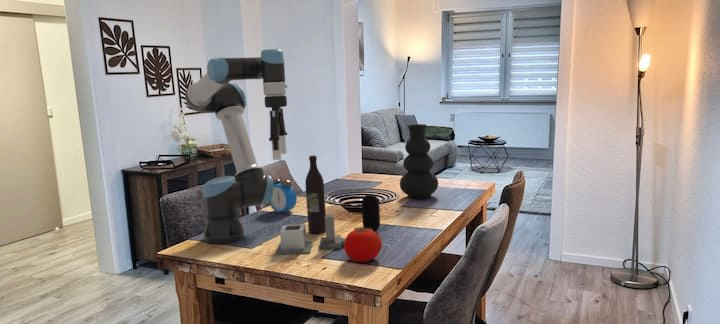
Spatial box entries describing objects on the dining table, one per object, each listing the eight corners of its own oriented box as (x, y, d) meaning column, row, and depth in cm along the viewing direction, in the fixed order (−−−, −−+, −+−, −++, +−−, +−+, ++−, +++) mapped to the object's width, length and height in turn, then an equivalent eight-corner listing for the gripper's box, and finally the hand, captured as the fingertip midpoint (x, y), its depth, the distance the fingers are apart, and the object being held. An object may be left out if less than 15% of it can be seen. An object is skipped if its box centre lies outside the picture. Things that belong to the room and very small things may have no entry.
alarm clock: (268, 211, 234) (265, 179, 231) (278, 208, 239) (275, 177, 236) (288, 214, 226) (286, 181, 224) (298, 211, 231) (296, 179, 228)
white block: (281, 251, 176) (279, 231, 175) (284, 243, 184) (283, 225, 183) (304, 250, 176) (303, 230, 175) (306, 242, 184) (305, 224, 183)
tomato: (350, 253, 173) (349, 223, 171) (385, 254, 169) (384, 224, 167) (340, 265, 162) (338, 233, 160) (377, 267, 158) (375, 234, 157)
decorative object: (378, 229, 198) (376, 191, 195) (382, 234, 191) (380, 195, 189) (361, 230, 197) (359, 193, 194) (364, 235, 190) (362, 196, 188)
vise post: (320, 249, 177) (318, 219, 175) (321, 242, 185) (319, 213, 183) (373, 247, 177) (372, 216, 175) (372, 239, 185) (371, 210, 183)
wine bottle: (306, 230, 201) (301, 155, 196) (323, 227, 203) (318, 153, 199) (311, 235, 194) (306, 158, 189) (329, 232, 197) (324, 156, 192)
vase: (444, 194, 248) (442, 123, 242) (428, 203, 233) (426, 127, 227) (410, 191, 258) (408, 123, 252) (393, 200, 243) (390, 127, 237)
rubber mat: (275, 255, 174) (274, 253, 174) (279, 244, 186) (279, 242, 186) (309, 253, 174) (309, 251, 174) (312, 242, 186) (312, 240, 186)
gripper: (281, 96, 162) (286, 161, 165) (290, 93, 187) (294, 150, 190) (257, 97, 162) (263, 163, 165) (270, 94, 186) (274, 152, 190)
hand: (280, 156), depth 178 cm, fingers open, 13 cm apart
